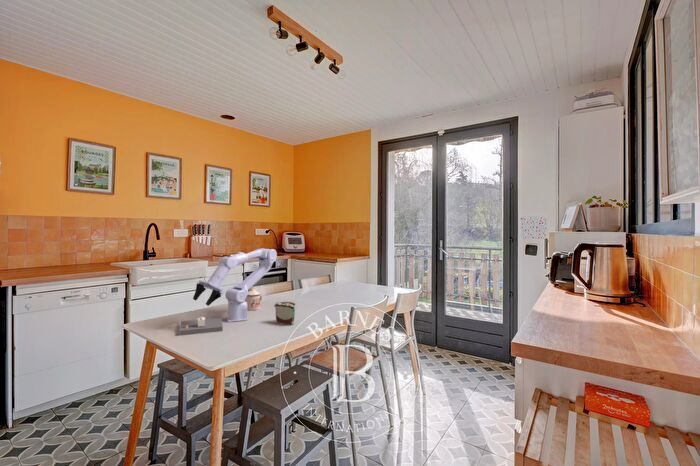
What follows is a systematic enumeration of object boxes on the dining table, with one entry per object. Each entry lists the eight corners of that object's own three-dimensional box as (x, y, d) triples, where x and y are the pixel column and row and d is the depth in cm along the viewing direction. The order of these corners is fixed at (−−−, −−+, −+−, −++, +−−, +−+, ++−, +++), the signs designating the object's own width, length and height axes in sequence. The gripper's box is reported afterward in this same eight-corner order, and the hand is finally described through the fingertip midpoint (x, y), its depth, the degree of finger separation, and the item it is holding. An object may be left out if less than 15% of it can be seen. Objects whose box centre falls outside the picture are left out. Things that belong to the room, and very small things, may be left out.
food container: (301, 322, 169) (301, 303, 169) (294, 326, 164) (294, 305, 163) (281, 319, 174) (281, 300, 174) (273, 322, 169) (274, 302, 168)
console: (221, 321, 168) (221, 317, 168) (222, 331, 154) (222, 326, 154) (181, 324, 161) (181, 320, 161) (178, 335, 147) (178, 330, 147)
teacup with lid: (252, 311, 188) (252, 291, 187) (240, 309, 192) (240, 289, 192) (267, 307, 198) (267, 287, 198) (256, 304, 203) (256, 285, 202)
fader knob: (204, 323, 157) (205, 315, 157) (204, 326, 153) (205, 318, 153) (198, 323, 156) (198, 316, 156) (197, 326, 152) (197, 318, 152)
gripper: (202, 269, 162) (184, 293, 155) (226, 278, 158) (209, 304, 151) (208, 275, 168) (191, 299, 161) (231, 285, 163) (215, 309, 157)
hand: (200, 302), depth 156 cm, fingers open, 7 cm apart
